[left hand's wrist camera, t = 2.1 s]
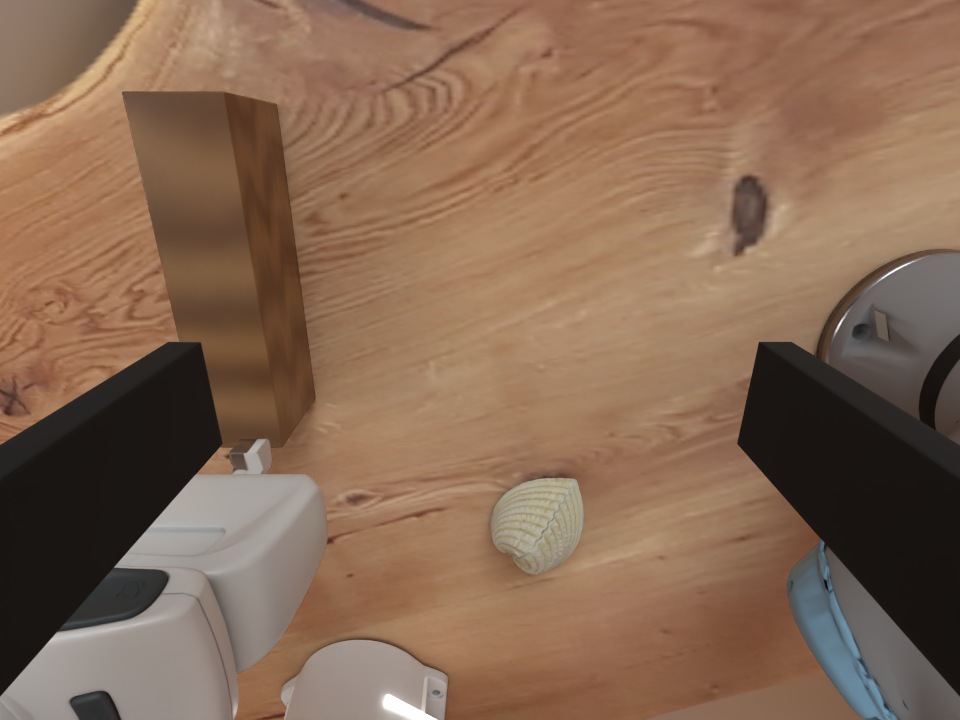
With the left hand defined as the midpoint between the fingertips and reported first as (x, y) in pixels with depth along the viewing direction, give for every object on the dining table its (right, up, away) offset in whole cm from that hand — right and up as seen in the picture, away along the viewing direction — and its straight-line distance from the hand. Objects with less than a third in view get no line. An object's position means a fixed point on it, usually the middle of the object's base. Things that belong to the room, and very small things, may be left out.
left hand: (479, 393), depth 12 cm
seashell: (+6, -14, +37) cm, 40 cm away
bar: (-17, +8, +28) cm, 34 cm away
